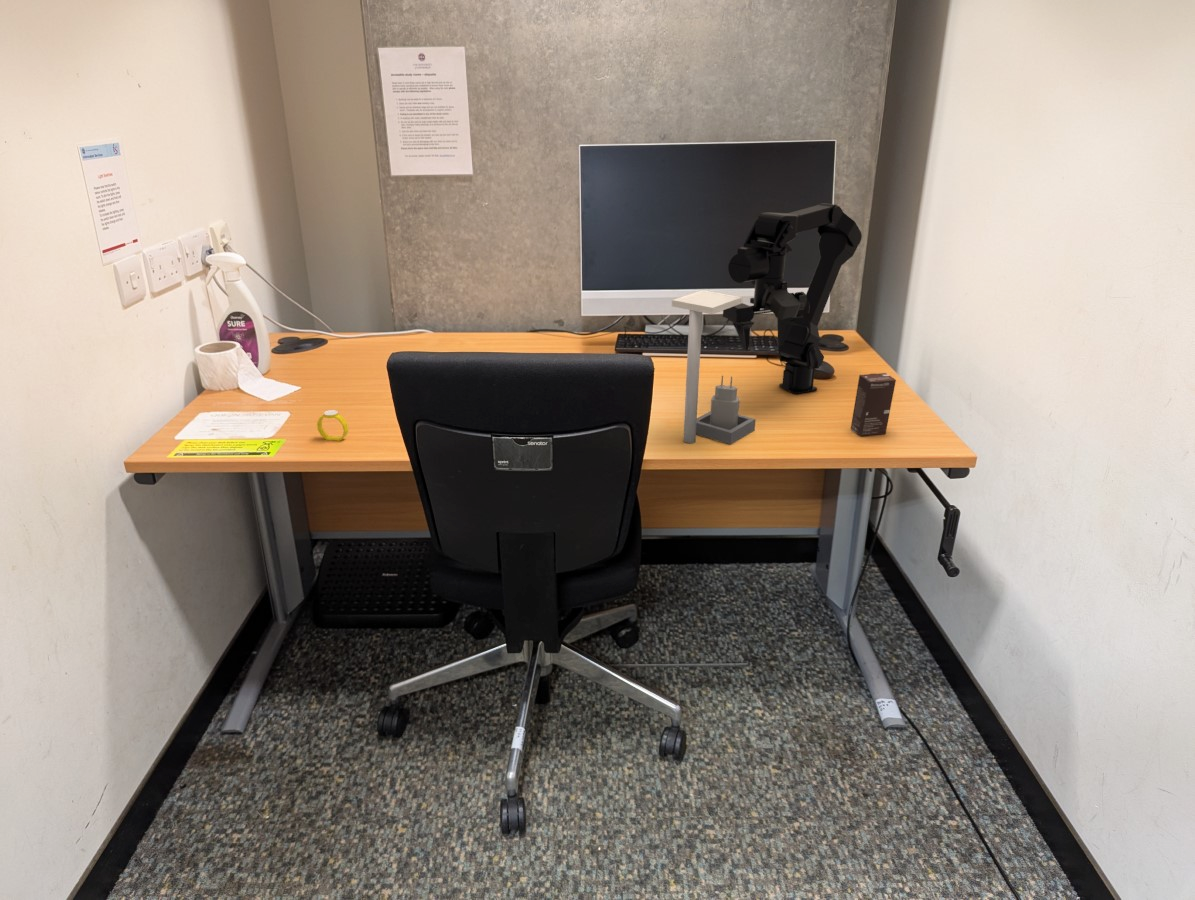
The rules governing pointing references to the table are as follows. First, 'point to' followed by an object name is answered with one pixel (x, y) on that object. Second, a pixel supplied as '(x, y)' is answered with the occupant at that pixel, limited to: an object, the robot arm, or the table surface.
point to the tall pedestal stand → (692, 424)
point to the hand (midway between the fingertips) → (763, 347)
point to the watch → (332, 415)
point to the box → (872, 404)
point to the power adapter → (724, 406)
